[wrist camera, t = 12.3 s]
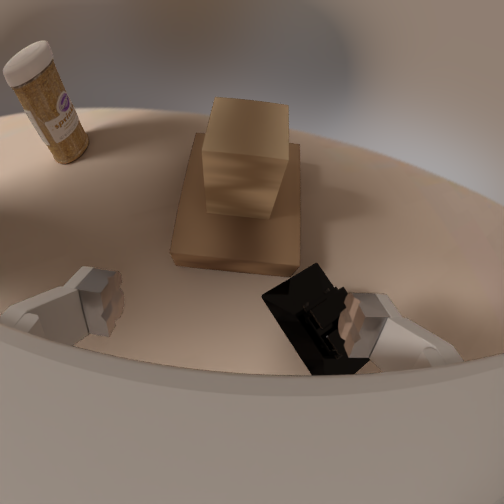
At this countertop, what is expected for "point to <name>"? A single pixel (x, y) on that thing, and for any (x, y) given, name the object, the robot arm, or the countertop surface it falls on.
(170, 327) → the countertop surface
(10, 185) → the countertop surface
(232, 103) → the oak block
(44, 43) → the sprinkles bottle
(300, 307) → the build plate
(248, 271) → the walnut base block
